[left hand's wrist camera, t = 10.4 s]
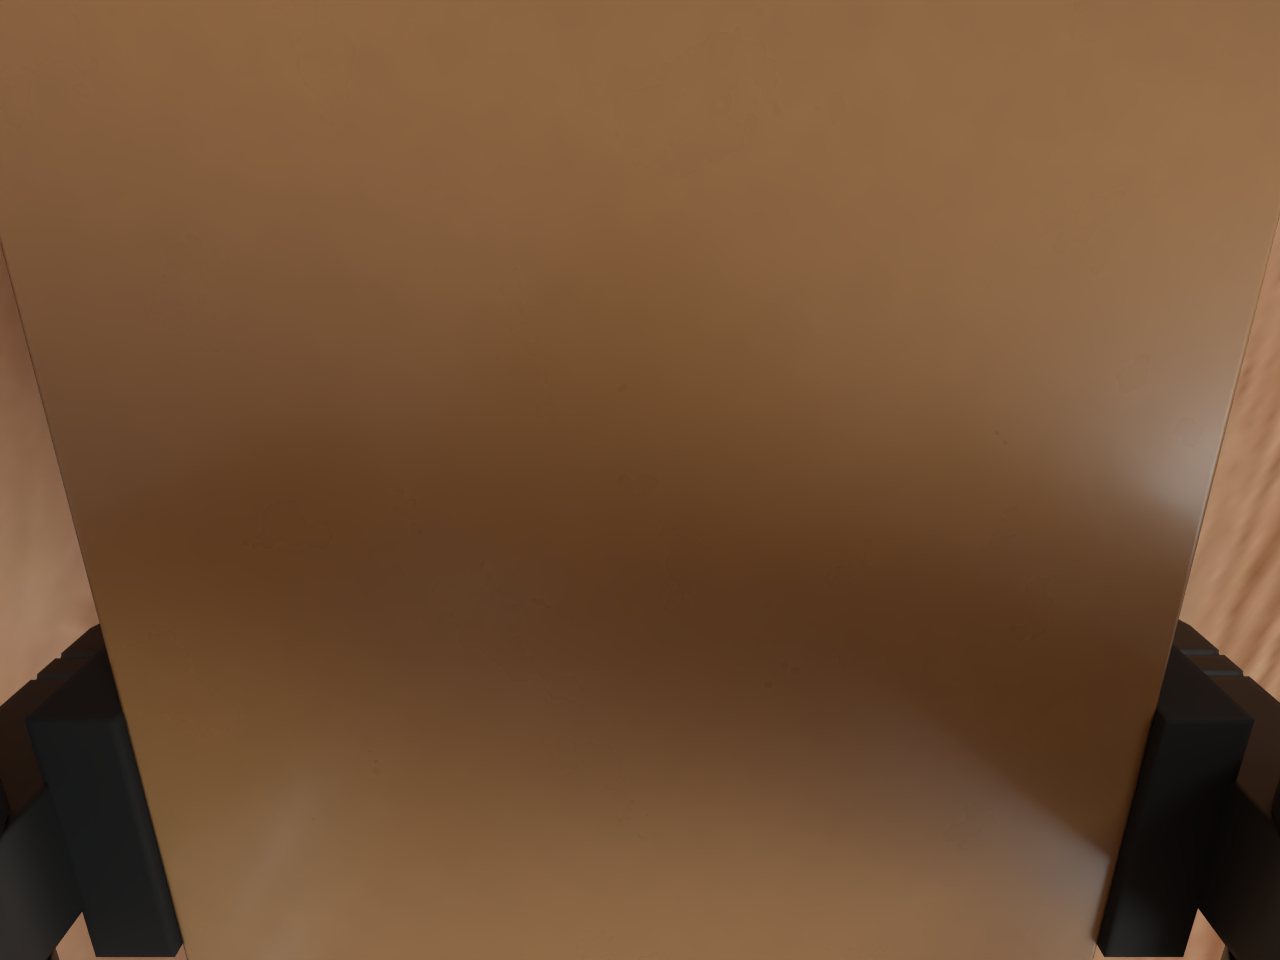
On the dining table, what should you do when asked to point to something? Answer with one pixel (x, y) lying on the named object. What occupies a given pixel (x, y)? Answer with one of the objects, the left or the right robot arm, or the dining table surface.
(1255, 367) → the dining table surface
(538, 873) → the long beam
